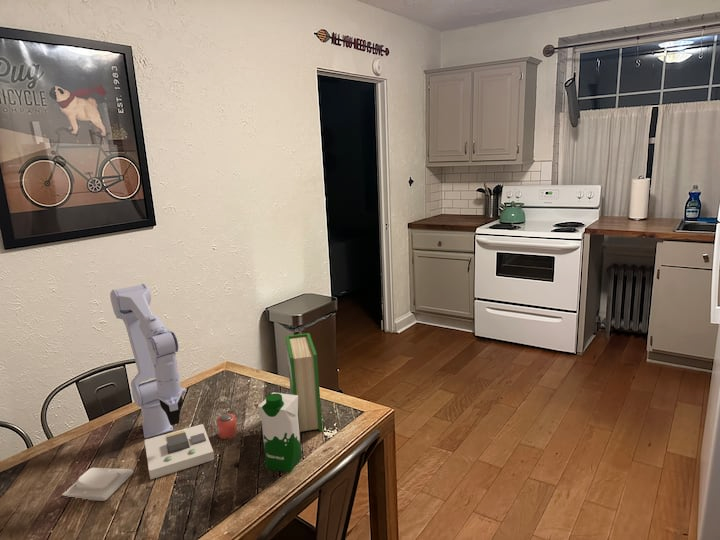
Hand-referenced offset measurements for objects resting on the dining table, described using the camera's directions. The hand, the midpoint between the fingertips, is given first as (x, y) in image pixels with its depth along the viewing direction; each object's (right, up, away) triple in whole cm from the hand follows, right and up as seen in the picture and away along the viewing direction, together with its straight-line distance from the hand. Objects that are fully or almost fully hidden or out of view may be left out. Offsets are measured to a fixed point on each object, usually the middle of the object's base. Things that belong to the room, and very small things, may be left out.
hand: (174, 423), depth 133 cm
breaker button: (0, -7, +2) cm, 7 cm away
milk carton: (+30, -9, -4) cm, 32 cm away
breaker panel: (0, -9, +2) cm, 9 cm away
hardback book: (+34, -4, +17) cm, 38 cm away
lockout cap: (+12, -6, +11) cm, 17 cm away
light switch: (-16, -13, -9) cm, 23 cm away
